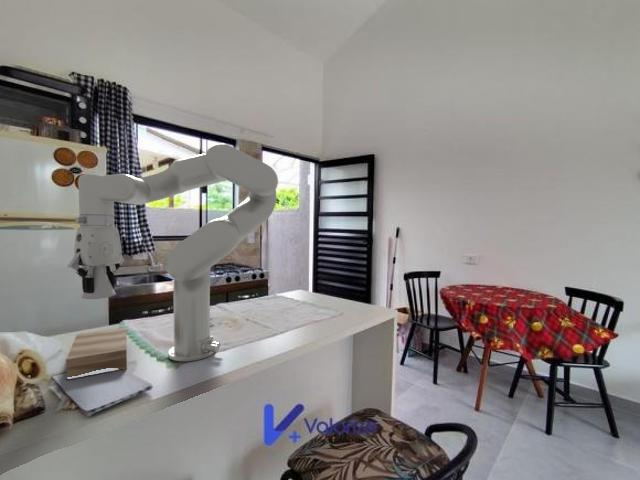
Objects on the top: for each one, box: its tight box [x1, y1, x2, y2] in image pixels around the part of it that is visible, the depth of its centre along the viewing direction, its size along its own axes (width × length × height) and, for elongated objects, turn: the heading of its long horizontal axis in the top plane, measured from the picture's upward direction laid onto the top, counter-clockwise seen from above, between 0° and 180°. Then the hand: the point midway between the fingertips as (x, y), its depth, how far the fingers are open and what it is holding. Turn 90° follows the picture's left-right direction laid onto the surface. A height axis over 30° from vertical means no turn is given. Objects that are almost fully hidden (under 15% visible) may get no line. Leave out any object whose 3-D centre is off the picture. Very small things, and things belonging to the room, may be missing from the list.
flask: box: [81, 265, 117, 300], centre depth 85 cm, size 7×7×10 cm
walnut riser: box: [65, 326, 128, 378], centre depth 86 cm, size 20×12×5 cm, turn 31°
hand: (99, 289), depth 86 cm, fingers closed on flask, 4 cm apart
